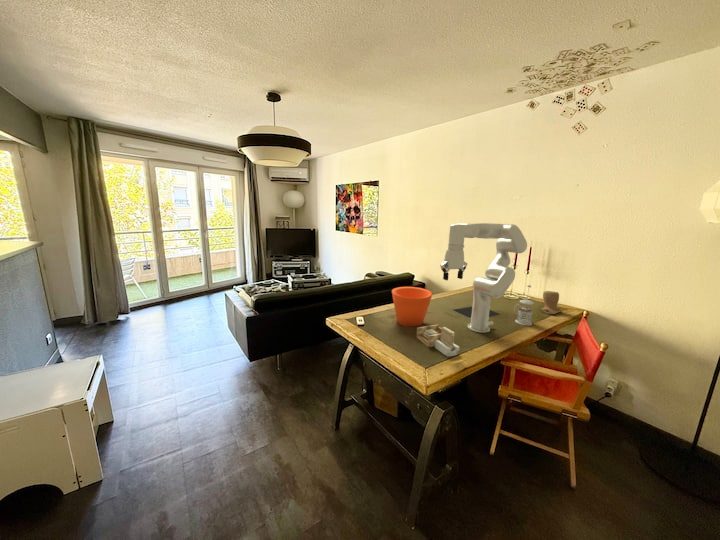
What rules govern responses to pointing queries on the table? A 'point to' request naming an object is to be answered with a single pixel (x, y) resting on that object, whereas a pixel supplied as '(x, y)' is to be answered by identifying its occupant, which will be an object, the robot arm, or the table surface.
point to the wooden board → (447, 337)
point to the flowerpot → (411, 305)
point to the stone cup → (550, 302)
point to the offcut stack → (428, 333)
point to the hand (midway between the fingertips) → (452, 279)
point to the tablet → (468, 312)
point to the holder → (446, 348)
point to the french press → (527, 310)
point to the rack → (431, 337)
